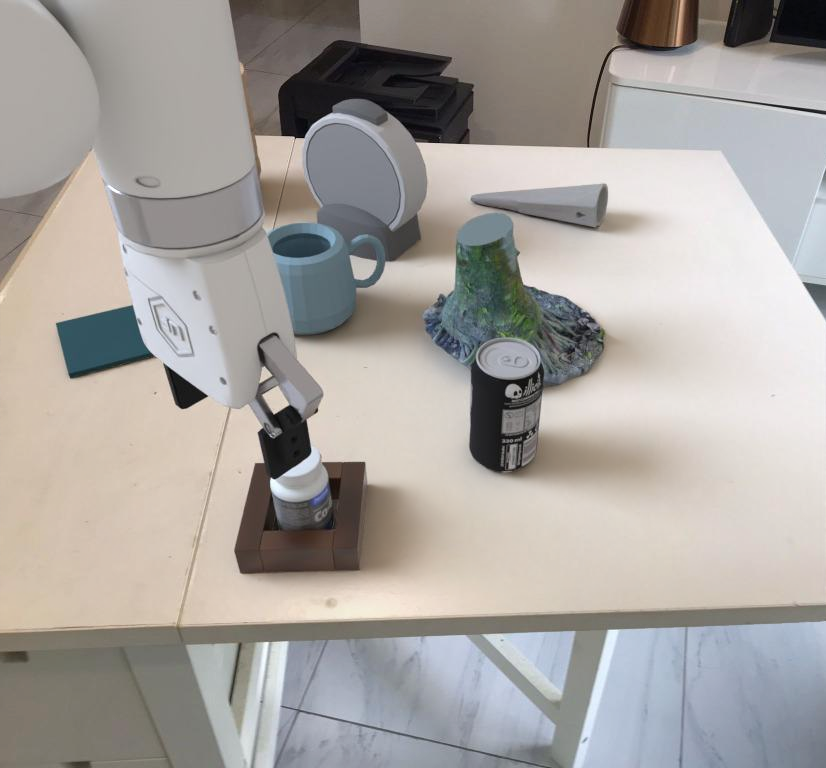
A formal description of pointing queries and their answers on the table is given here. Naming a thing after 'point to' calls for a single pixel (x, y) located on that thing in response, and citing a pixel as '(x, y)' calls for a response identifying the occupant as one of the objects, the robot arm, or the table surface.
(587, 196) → the long tapered cone
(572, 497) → the table surface
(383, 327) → the table surface
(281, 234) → the mug
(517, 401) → the beverage can
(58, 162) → the robot arm
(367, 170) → the alarm clock
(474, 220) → the tree stump
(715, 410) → the table surface
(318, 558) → the peg block
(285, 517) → the pill bottle
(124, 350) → the mat
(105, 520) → the table surface
